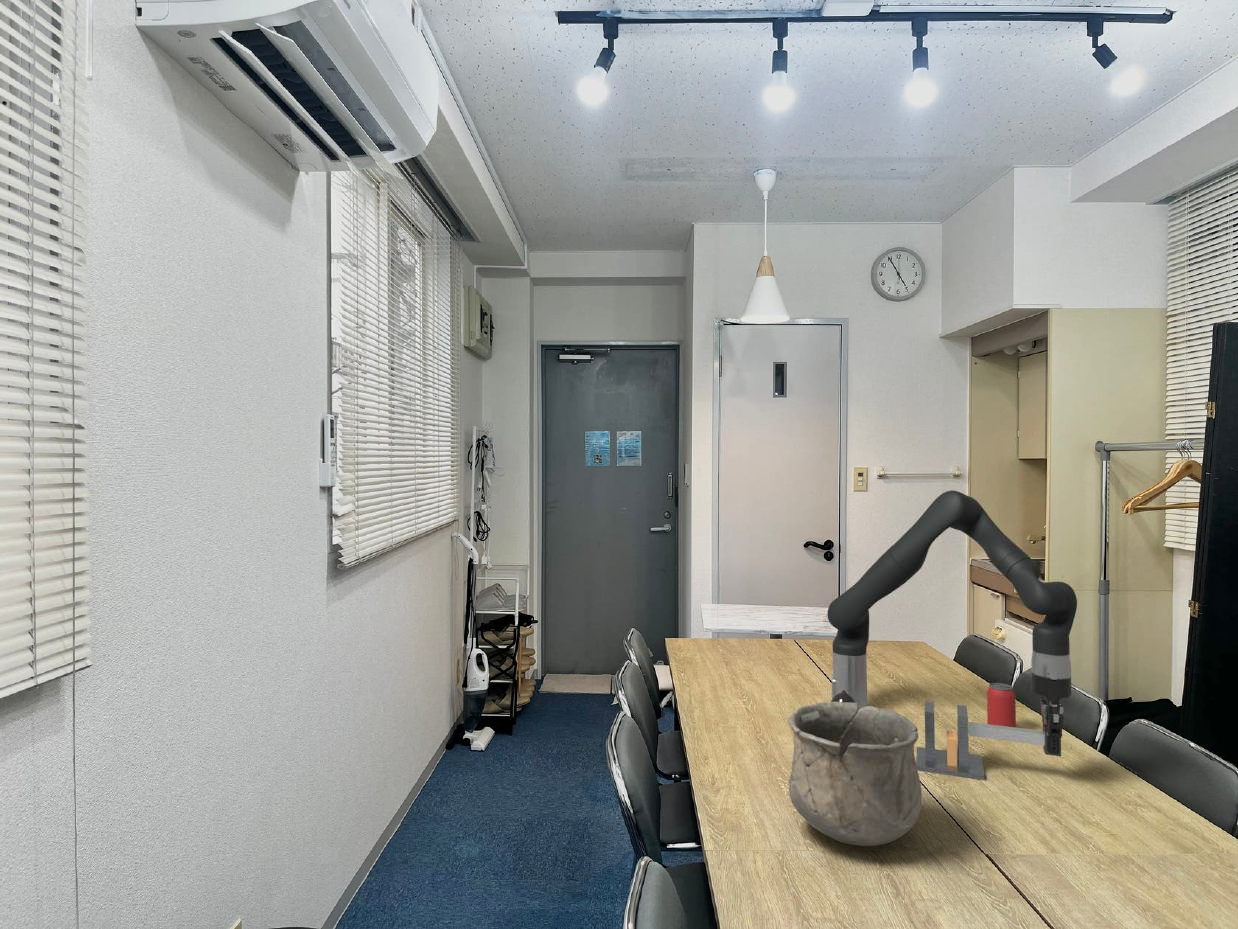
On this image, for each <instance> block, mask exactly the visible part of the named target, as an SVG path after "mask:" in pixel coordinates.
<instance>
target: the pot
mask: <svg viewBox="0 0 1238 929" xmlns="http://www.w3.org/2000/svg"><path fill="white" fill-rule="evenodd" d="M787 723H788V725H789V727H790V729H791V730H792V733H793V734H792V735H793V736H792V740H793V745H794V747H793V753H792V762H791V772H790V776H789V779H788V792H789V799H790V801H791V803H792V806H793V807H794V808H795V810H796V811H797V813H798V814H799V815H800V816H801V817H802V818H803V819H804V820H805V821H806V822H807V823H809V824H810V825H811V826H812V827H813V828H814V829H815V830H816V831H818V832H820V833H821V834H824V835H825V836H827V837H829V838H830V839H832V840H835V841H837V842H839V843H842V844H846V845H847V844H848V845H850V846H851V845H853V846H859V847H860V846H861V847H878V846H882V845H886V844H889V843H891V842H894V841H897V840H898V839H900V838H901V837H903V836H904V835H905V834H907V833H909V831H910V830H911V829H913V828H914V826H915V825H916V823H917V821H918V819H919V816H920V812H921V808H922V801H923V800H922V797H923V794H922V784H921V778H920V775H919V770H917V766H916V758H915V749H914V748H915V744H916V742H917V741H918V739H919V733H918V727H917V726H916V725H915V724H914V723H913V722H912V721H911V720H909V719H908V718H907V717H906V716H904V715H902V714H900V713H898V712H896V711H893V710H891V709H885V708H878V707H876V706H874V705H873V706H872V705H867V706H865V707H863V708H859V706H858V703H848V702H845V703H844V702H831V701H822V702H816V703H815V704H808V705H801V706H799V707H798V708H796V709H795V710H794V711H793V712H792V713H791V714H790V715H789V716H788V719H787Z"/></svg>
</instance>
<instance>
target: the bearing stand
mask: <svg viewBox="0 0 1238 929" xmlns="http://www.w3.org/2000/svg"><path fill="white" fill-rule="evenodd" d="M956 706H957V707H956V710H957V712H956V717H957V725H956V726H957V767H956V766H949V765H947V750H946V749H945V750H944V749H936V746H935V745H936V742H935V741H936V739H935V738H936V737H935V736H936V735H935V732H936V730H935V701H926V700H925V701H924V747H923V746H922V747H921V746H916V758H915V761H916V766H917V771H921V772H926V771H927V773H934V774H940V775H947V776H954V777H961V778H967V779H972V780H973V779H974V780H981V781H985V771H984V765H983V759H982V755H980V754H972V753H970V752H969V749H970V748H969V723H968V722H969V714H968V706H967V705H962V704H957V705H956Z"/></svg>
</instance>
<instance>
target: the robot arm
mask: <svg viewBox="0 0 1238 929" xmlns="http://www.w3.org/2000/svg"><path fill="white" fill-rule="evenodd" d="M949 528H951V529H953V530H956V531H960V532H962V533H964V534H965V535H967V536H968V537H970V539H972V540H974V541H975V542H976V543H977V544H978V545H979V546H980V547H981V548H982V550H983V551H984V553H985V554H986V557H987V558H988V559H989V561H990V562H991V563H992V565H993V566H994V567H995V568H996V569H997V570H998V571H999V572H1000V573H1001V574H1002V575H1003V576H1004V577H1005V579H1007V580H1008V582H1010V583H1011V584H1012V586H1013V588H1014V590H1015V592H1016V594H1017V595H1018V597H1019V599H1020V600H1021V602H1022V603H1023V605H1024V606H1025V607H1026V608H1027V609H1028V610H1030V611H1031V612H1032V613H1034V614H1037V615H1040V616H1044V619H1043V620H1042V621H1041V622H1039V623H1037V624H1036V625H1034V627H1033V628H1032V635H1031V637H1032V638H1031V639H1032V642H1031V643H1032V654H1031V663H1030V664H1031V690H1032V691H1033V693H1035V694H1037V695H1039V696H1040V701H1039V705H1040V708H1041V710H1040V712H1041V713H1040V714H1041V718H1042V719H1041V722H1042V723H1043V722H1044V724H1045V725H1046V726H1047V732H1046V734H1047V750H1048V753H1050V754H1059V753H1060V748H1059V738H1061V739H1062V738H1063V726H1064V725H1063V724H1064V715H1063V714H1064V705H1063V704H1062V701H1060V700H1061V699H1068V698H1070V697H1071V696H1072V661H1071V658H1070V657H1071V655H1070V653H1071V652H1070V651H1071V650H1070V647H1071V646H1070V644H1071V643H1070V633H1071V630H1072V629H1073V624H1074V621H1075V617H1076V613H1077V608H1078V599H1077V594H1076V593H1075V592H1076V591H1075V590H1074V589H1073V587H1071V585H1070V584H1068V583H1066V582H1064V581H1048V582H1046V581H1045V582H1044V581H1041V580H1040V579H1039V578H1041V573H1042V570H1041V568H1040V566H1039V565H1038V564H1037V563H1036V561H1035V560H1033V559H1032V558H1031V557H1030V556H1029V555H1028V554H1027V553H1026V552H1025V551H1023V549H1021V548H1020V546H1018V545H1017V544H1016V543H1015V542H1013V541H1012V540H1011V539H1010V538H1009V537H1008V536H1007V535H1006V534H1005V533H1004V532H1003V531H1002V530H1001V529H1000V528H999V526H998V525H997V524H996V523H995V522H994V521H993V520H992V517H991V516H989V514H988V513H987V512H986V511H985V509H984V508H983V506H982V505H981V504H980V503H979V501H978V500H976V499H975V498H974V497H971V496H970V495H967V494H965V493H963V492H960V491H958V490H954V489H953V490H947V491H944V492H943V493H941V494H940V495H939V496H937V497H936V498H935V499H934V500H933V502H932V503H931V504H930V505H929V506H928V507H927V508H926V510H925V511H924V512H923V514H921V516H920V517H919V518H918V519H917V520H916V521H915V523H914V524H913V525H912V526H911V527H910V528H909V529H908V530H907V531H906V532H905V533H904V534H902V536H901V537H900V538H899V539H898V540H896V542H895V543H894V544H893V545H891V546H890V547H889V548H888V549H887V550H886V551H885V552H884V553H883V554H882V555H881V556H879V558H878V559H876V561H875V562H874V563H873V564H871V566H870V567H869V568H868V569H867V571H865V573H864V574H863V575H862V576H861V577H860V578H859V579H858V581H857V582H856V583H854V585H852V586H850V587H849V588H848V589H847V590H846V591H845V592H843V593H841V594H840V595H839V596H838V597H837V598H835V599H833V600H832V602H830V604H829V605H828V607H827V620H828V621H829V622H828V623H829V624H830V625H831V627H833V628H835V629H837V633H836V635H835V637H834V640H833V641H832V679H831V699H832V698H833V697H834V696H835V695H836V694H838V693H842V691H843V690H845V691H846V693H847V694H849V695H851V696H852V697H853V698H854V700H855V701H856V703H858V706H859V708H863V707H865V706H868V672H867V671H868V670H867V669H868V665H867V663H868V662H867V660H868V659H867V654H868V653H867V649H868V644H869V640H870V609H871V608H872V607H873V606H874V605H875V604H876V603H878V602H879V601H881V600H882V599H884V598H885V597H887V596H888V595H890V594H892V593H894V592H895V591H896V590H898V589H899V588H901V587H902V586H903V585H904V584H906V583H907V582H908V581H909V580H910V579H911V578H913V577H914V575H915V574H917V573H918V572H919V571H920V570H921V569H922V568H923V566H924V564H925V562H926V559H927V556H928V552H929V551H930V550H929V549H930V547H931V546H932V544H933V543H934V541H936V539H937V538H939V537H940V536H941V535H942V534H943V533H944V532H946V530H948V529H949ZM1052 729H1057V731H1051V730H1052Z"/></svg>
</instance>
